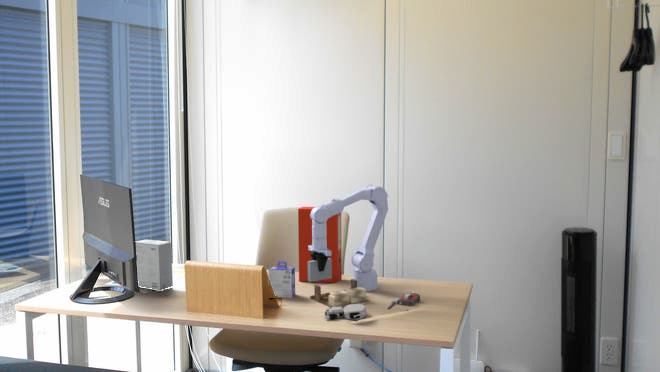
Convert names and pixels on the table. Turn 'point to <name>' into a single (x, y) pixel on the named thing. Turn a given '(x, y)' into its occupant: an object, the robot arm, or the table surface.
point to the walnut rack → (324, 297)
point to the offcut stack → (347, 296)
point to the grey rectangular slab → (314, 272)
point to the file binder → (306, 239)
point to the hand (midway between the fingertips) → (319, 270)
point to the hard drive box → (154, 264)
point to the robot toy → (346, 312)
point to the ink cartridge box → (282, 280)
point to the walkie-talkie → (406, 300)
